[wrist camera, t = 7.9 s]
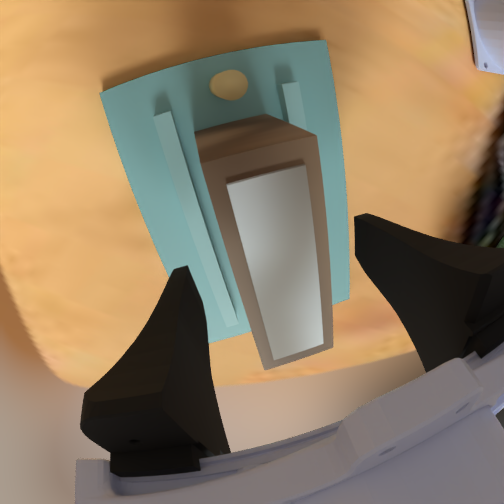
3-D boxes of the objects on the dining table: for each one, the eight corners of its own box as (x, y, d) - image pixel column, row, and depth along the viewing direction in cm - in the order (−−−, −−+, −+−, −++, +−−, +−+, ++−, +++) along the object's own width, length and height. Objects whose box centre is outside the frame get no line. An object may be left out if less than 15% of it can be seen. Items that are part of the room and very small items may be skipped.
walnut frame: (265, 113, 13) (319, 136, 8) (295, 276, 19) (334, 349, 14) (194, 131, 13) (200, 165, 8) (241, 293, 19) (265, 372, 14)
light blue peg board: (321, 41, 12) (356, 34, 9) (345, 293, 22) (368, 326, 19) (102, 92, 12) (78, 96, 9) (201, 338, 21) (207, 379, 18)
